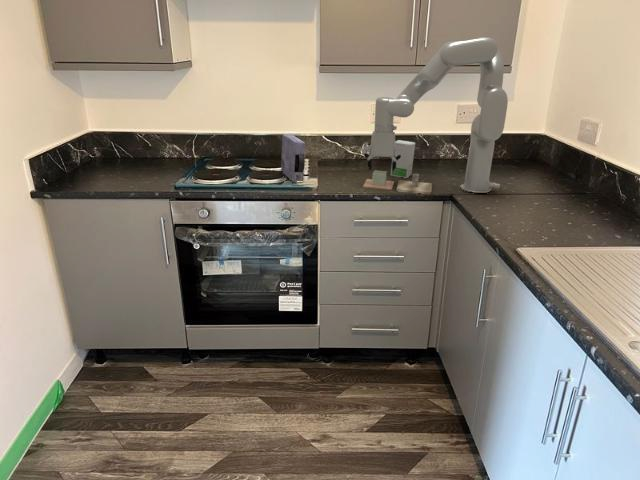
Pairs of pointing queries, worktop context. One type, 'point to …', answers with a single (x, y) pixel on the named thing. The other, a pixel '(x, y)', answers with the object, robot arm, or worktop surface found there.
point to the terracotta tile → (369, 185)
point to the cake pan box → (293, 157)
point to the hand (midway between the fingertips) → (381, 169)
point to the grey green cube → (379, 178)
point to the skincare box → (404, 159)
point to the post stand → (414, 186)
